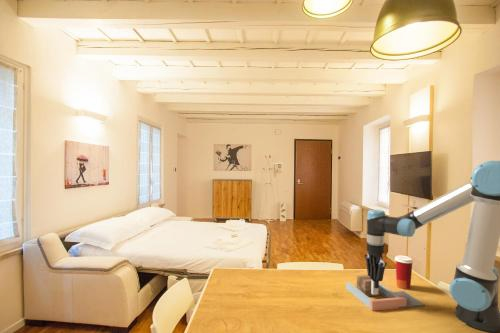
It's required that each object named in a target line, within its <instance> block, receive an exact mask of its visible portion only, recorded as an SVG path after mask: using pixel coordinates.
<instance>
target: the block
mask: <svg viewBox="0 0 500 333" xmlns="http://www.w3.org/2000/svg"><path fill="white" fill-rule="evenodd" d="M356 288H357V289H359V290H360V291H361V292H363V293H364V294H365V295H366V296H368V297H372V296H379V293H378V294H376V295H373V294H371V278H370V276H368V274H362V275H360V274H359V275H356Z"/></svg>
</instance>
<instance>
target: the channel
mask: <svg viewBox="0 0 500 333" xmlns="http://www.w3.org/2000/svg"><path fill="white" fill-rule="evenodd" d="M345 290H347V291H348V292H349V293H350V294H352V295H353V296H354V297H355V298H357V299H358V301H360V302H361V303H362V304H364V305H365V306H366V307H367V308H368V309H370V310H371V311H373V312H374V311H385V310H394V309H400V308H399V307H402V308H401V309H404V308H403V306H406V298H405V297H400V296H399V295H397V294H395V293H394V292H395V291H392V290H391V289H389V288H388V287H387V286H385V285H383V283H382V284H381V283H380V282H379V288H378V293H379V294H380V293H384V294H385V295H386V296H388V297H389V298H378V299H377V298H375V299H372V298H370V296H366V295H365V294H364V293H363V292H361V291H360V290H359V289H357V286H355V285H354V284H353V283H352V282H350V281H349V282H345Z"/></svg>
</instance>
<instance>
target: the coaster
mask: <svg viewBox="0 0 500 333" xmlns="http://www.w3.org/2000/svg"><path fill="white" fill-rule="evenodd" d="M393 292H394V293H395V294H397V295H399V296H400V297H405V298H406V306H403V308H402V307H399V308H398V309H405V308H416V307H417V308H418V307H424V306H425V303H423V302H421V301H420V300H418V299H417V298H415V297H413V296H411V295H410V294H409V293H407V292H406V291H404V290H403V291H393ZM379 296H381V297H382V298H383V299H385V298H389V297H388V296H386V295H385V294H384V293H380V292H379Z"/></svg>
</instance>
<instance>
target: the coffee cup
mask: <svg viewBox="0 0 500 333" xmlns="http://www.w3.org/2000/svg"><path fill="white" fill-rule="evenodd" d="M394 261H395V278H396V287H397V288H399V289H402V290H410V289H411V285H412V272H413V263H414V261H413V258H412V257H410V256H407V255H396V256H395V257H394Z"/></svg>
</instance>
